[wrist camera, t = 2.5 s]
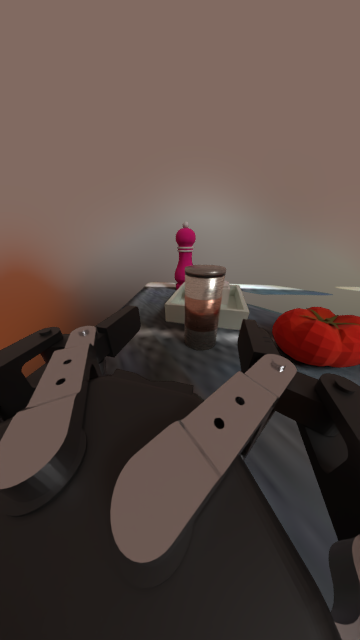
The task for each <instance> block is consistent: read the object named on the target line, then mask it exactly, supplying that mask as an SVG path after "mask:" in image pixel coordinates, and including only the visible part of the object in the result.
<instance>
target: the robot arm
mask: <svg viewBox="0 0 360 640" xmlns="http://www.w3.org/2000/svg"><path fill="white" fill-rule="evenodd" d="M140 326H141V323H140V316H139V309H138V307H136V306H126V307H125V308H123V309H122V310H120V311H119V312H116V313H114V314H113V315H111V316H110V317H108V318H107V319H105V320H104V321H102V322H101V323H99V324H98V325H96V326H95V327H93V326H84V327H80V328H77V329H75V330H74V331H72V332H71V334H62V333H61V331H60V329H59V328H57V327H50V328H45V329H42V330H39V331H37V332H35V333H33V334H31V335H29V336H27V337H25V338H23V339H21V340H19V341H18V342H16V343H14V344H12V345H10V346H8V347H6V348H4V349H2V350H0V640H360V386H358V385H357V384H355V383H354V382H352V381H350V380H348V379H346V378H344V377H341V376H338V375H335V374H328V373H327V374H323V375H321V377H320V378H319V380H318V379H315V378H312V377H310V376H307V375H304V374H302V373H299V372H297V370H296V367H295V366H294V364H293V363H292V362H290V361H289V360H288V359H286V358H284V357H282V356H280V354H279V352H278V350H277V348H276V346H275V344H274V343H273V340H272V339H271V337H270V335H269V333H268V332H267V331H266V330H264V329H263V328H259V327H258V325H257V323H256V321H255V320H249V319H243V321H242V324H241V328H240V333H239V337H238V352H239V358H240V365H241V371H239V372H237V373H236V374H235V375H234V376H233V377H231V378H230V379H229V380H228V381H227V382H226V383H225V384H223V385H222V386H221V387H220V388H219V389H218V390H216V391H215V392H214V393H213V394H212V395H211V396H210V397H208V398H207V399H206V400H203V399H202V398H201V397H199V396H198V395H196V394H194V393H193V385H188V384H184V383H179V382H175V381H149V380H147V379H145V378H143V377H141V376H140V375H138V374H136V373H133V372H129V371H124V370H120V369H116V371H115V372H114V373H113V374H112V375H106V359H105V357H106V356H110V357H115V356H116V355H117V354H118V353H119V352H120V351H121V350H122V348H123V347H124V346H125V345H126V344H127V343H128V342H129V341H130V340H131V339H132V338H133V337H134V336H135V334H136V333H137V332H138V331H139V330H140ZM38 354H41V355H42V357H43V359H44V361H45V362H46V363H45V364H44V365H43V366H41V367H40V368H39V369H37V370H36V371H35V372H34V373H32V374H31V375H29V376H28V377H27V378H25V376H24V375H23V374H22V372H21V369H22V366H23V365H24V364H25V363H26V362H28V361H29V360H31V359H32V358H34V357H35V356H37V355H38ZM275 411H277V412H279V413H281V414H283V415H285V416H287V417H289V418H291V419H293V420H295V421H296V423H297V425H298V428H299V431H300V434H301V437H302V440H303V442H304V445H305V448H306V451H307V454H308V456H309V459H310V462H311V465H312V468H313V470H314V473H315V476H316V479H317V482H318V485H319V487H320V490H321V493H322V496H323V499H324V501H325V504H326V507H327V510H328V513H329V515H330V518H331V521H332V524H333V527H334V530H335V532H336V535H337V538H338V541H337V542H335V543H334V544H332V546H331V547H330V551H329V567H330V572H331V577H332V581H333V588H334V603H333V607H332V610H331V612H330V610H329V608H328V606H327V604H326V602H325V600H324V598H323V596H322V594H321V592H320V590H319V588H318V586H317V584H316V582H315V581H314V579H313V577H312V575H311V574H310V572H309V570H308V569H307V567H306V565H305V563H304V562H303V560H302V558H301V557H300V555H299V553H298V552H297V550H296V548H295V547H294V545H293V543H292V542H291V540H290V538H289V536H288V535H287V533H286V531H285V530H284V528H283V526H282V525H281V523H280V521H279V520H278V518H277V516H276V515H275V513H274V511H273V510H272V508H271V506H270V504H269V503H268V501H267V499H266V498H265V496H264V494H263V493H262V491H261V489H260V488H259V486H258V484H257V483H256V481H255V479H254V477H253V476H252V474H251V472H250V471H249V469H248V467H247V466H246V464H245V462H244V459H245V458H246V456H247V455H248V453H249V452H250V450H251V448H252V447H253V445H254V443H255V442H256V440H257V438H258V437H259V435H260V434H261V432H262V431H263V429H264V428H265V426H266V425H267V423H268V422H269V420H270V418H271V417H272V415H273V414H274V412H275Z"/></svg>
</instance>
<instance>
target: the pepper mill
mask: <svg viewBox="0 0 360 640" xmlns="http://www.w3.org/2000/svg"><path fill="white" fill-rule="evenodd" d="M188 227H189V224H188V222H184V223H183V229H180V230H179V231H178V232H177V234H176V242H177V244H178V245H179V247H177V248H178V252H179V262H178V266H177V268H176V271H175V280H176V281H177V282H178V283H177V284H176V289H177V290H178V289H179V287H180V286H181V285H182V284H183V283H184V282H185V267H187V266H192V265H193V264H192V252H193V247H192V245H193V244H194V242H195V233H194V232H193V230H191V229H189V228H188Z"/></svg>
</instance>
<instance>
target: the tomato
mask: <svg viewBox="0 0 360 640" xmlns="http://www.w3.org/2000/svg"><path fill="white" fill-rule="evenodd" d="M272 333H273V336H274V339H275V341H276V344H277V345H278V346H279V347H280V348H281V350H282V351H283V352H284V353H286V354H287V355H289V356H290V357H292V358H293V359H295V360H297V361H300V362H302V363H305V364H309V365H315V366H331V367H349V366H355V365H358V364H360V317H358V316H354V315H342V316H338V315H337V316H336V315H335V314H333V313H332V312H331V311H330V310H329V309H325V308H322V307H311V308H308V309H300V308H298V309H293V310H290V311H287V312H285V313H283V314H282V315H281V316H279V317H278V319H277V320H276V322H275V323H274V325H273V329H272Z"/></svg>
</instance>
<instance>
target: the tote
mask: <svg viewBox="0 0 360 640" xmlns="http://www.w3.org/2000/svg"><path fill="white" fill-rule="evenodd" d="M229 286H230V293H229V299H228V305H223V304H221V308H220V315H219V322H218V328H225V329H233V330H240V328H241V324H242V321H243V319H248V315H249V310H248V307H247V305H246V302H245V300H244V297H243V294H242V291H241V289H240V286H239V285H229ZM165 317H166V321H167V322H175V323H183V324H185V323H184V321H185V282H184V283H183V284H182V285H181V286H180V287H179V289H178V290H177V291H176V292H175V293H174V294H173V295H172V296H171V298H170V299H169V300H168V301H167V302H166V303H165Z"/></svg>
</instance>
